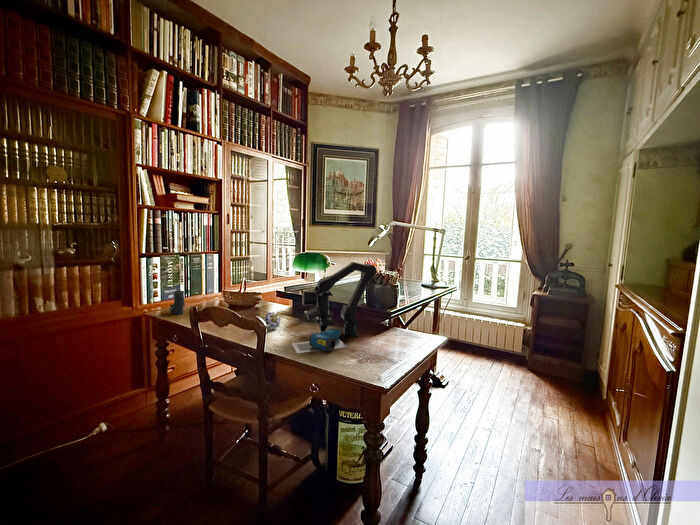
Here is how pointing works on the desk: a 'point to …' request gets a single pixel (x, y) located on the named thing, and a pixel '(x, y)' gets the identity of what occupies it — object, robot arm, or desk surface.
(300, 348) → the label panel
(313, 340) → the infrared thermometer
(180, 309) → the scope
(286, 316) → the desk surface
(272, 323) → the passion flower
